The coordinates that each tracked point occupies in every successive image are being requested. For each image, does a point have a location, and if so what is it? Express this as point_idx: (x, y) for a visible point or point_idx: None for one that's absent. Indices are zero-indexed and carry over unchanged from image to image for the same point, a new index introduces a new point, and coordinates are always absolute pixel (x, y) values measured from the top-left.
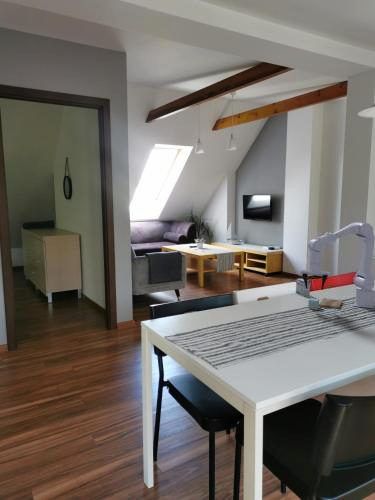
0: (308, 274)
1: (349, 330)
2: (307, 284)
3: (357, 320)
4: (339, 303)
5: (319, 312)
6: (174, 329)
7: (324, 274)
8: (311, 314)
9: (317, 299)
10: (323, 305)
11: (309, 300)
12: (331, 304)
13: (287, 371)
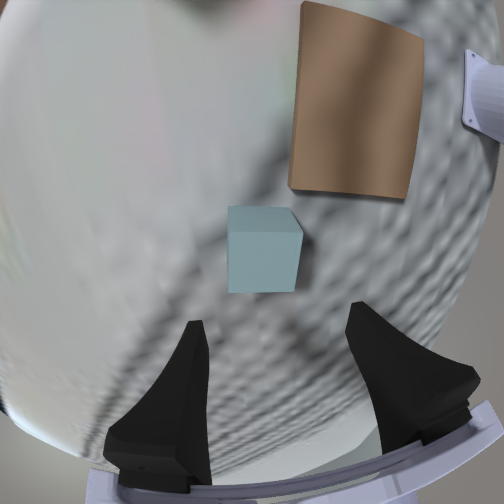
0: (218, 490)
1: (368, 394)
2: (197, 343)
3: (421, 321)
4: (412, 116)
5: (295, 301)
6: (63, 445)
7: (433, 450)
8: (260, 340)
9: (290, 249)
10: (319, 189)
11: (234, 290)
12: (369, 155)
13: (258, 480)
